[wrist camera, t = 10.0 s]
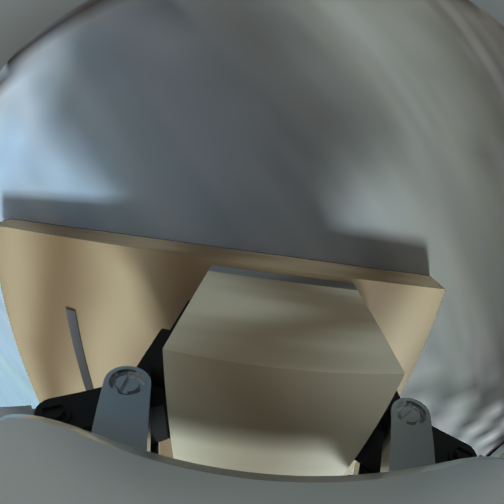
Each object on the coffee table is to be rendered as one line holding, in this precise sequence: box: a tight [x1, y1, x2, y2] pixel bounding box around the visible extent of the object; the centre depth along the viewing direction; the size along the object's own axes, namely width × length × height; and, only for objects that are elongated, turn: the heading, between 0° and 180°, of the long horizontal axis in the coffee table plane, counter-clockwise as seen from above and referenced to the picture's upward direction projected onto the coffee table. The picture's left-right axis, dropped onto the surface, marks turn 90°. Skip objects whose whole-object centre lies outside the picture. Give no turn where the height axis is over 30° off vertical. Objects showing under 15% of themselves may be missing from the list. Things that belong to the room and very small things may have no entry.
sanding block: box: [163, 265, 405, 476], centre depth 9 cm, size 5×7×5 cm
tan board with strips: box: [0, 219, 446, 475], centre depth 14 cm, size 22×18×2 cm
